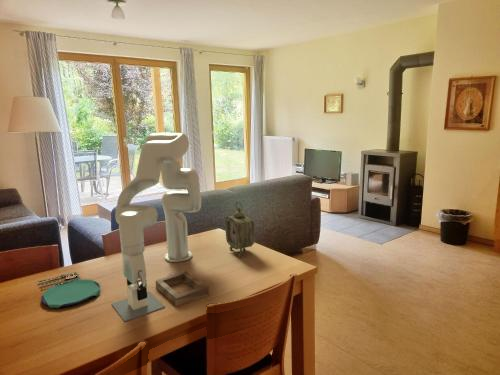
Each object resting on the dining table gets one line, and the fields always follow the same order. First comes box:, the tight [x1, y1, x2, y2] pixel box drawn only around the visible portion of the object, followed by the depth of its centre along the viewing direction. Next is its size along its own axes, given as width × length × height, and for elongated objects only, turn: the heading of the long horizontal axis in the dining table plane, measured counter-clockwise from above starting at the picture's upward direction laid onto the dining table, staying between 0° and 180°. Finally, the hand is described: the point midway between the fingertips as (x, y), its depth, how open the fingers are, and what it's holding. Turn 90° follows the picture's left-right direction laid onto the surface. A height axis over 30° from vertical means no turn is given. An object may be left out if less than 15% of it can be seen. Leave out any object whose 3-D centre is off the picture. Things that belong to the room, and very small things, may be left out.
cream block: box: [126, 282, 148, 310], centre depth 125 cm, size 5×5×7 cm
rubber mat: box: [111, 291, 166, 323], centre depth 126 cm, size 14×14×1 cm
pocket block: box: [155, 270, 210, 307], centre depth 136 cm, size 18×13×3 cm
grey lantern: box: [224, 201, 256, 258], centre depth 170 cm, size 14×9×25 cm, turn 27°
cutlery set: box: [37, 271, 102, 309], centre depth 138 cm, size 20×30×2 cm, turn 39°
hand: (137, 293), depth 125 cm, fingers open, 9 cm apart
